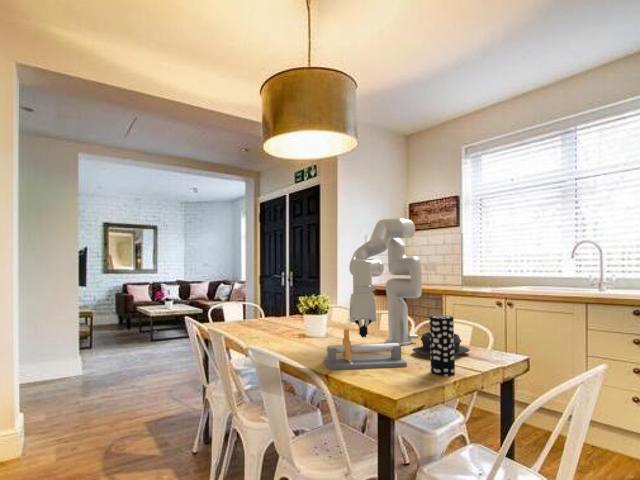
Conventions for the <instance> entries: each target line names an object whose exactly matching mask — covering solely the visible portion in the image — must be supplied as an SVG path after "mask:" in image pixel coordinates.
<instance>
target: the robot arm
mask: <svg viewBox="0 0 640 480" xmlns="http://www.w3.org/2000/svg"><path fill="white" fill-rule="evenodd" d="M415 233H416V226H415V223H414V222H413V221H412V220H411V219H406V218H400V217H397V218H383V219H381V220H380V219H379V220H378V221H377V223H375V227H374V228H373V231H372V234H371V236H370V238H369V240H368V241H366V242H364V243H363V244H362V245H361V246H359V247H357V249H356V250H355V251H354V253H353V255H352V256H351V259H350V262H349V272H350V274H351V275H352V293H350V299H349V322H351V323H354V324H356V325H357V326H358V329H359V330H358V332H359V333H358V334H359V336H360V337H361V338H367V335H368V327H369V325H371V323H375V322H377V307H376V299H375V293H374V291H376V286H373V284H372V283H373V279H372V278H378V277H380V276H382V274H383V272H384V270H385V266H384V263H383V262H382V260H380V259H378V258H371V257H374V256H375V257H376V256H378V255H379V254H383V253H384V252H385V251H386V250H387V261H388V262H387V265H388V272H389V274H390V275H392V276H409V277H410V278H405V277H395V278H390V279H388V280H387V281H386V283H385V293H386V299H387V312H388V313H387V316H388V317H387V318H388V321H387V322H388V329H387V330H388V338H386V339H385V343H399V345H400V346H406V345H411V344H412V340H413V339H414V340H419V335H418V334H410V333H409V324H408V323H409V315H408V314H409V313H408V311H409V310H408V309H409V308H408V304H407V303H406V301H405V300H404V299H418V298H420V297H421V296H422V292H423V281H422V280H423V278H422V277H423V276H422V275H423V274H422V273H423V272H422V263H421V259H420V258H419V257H418V256H416V255H406V245H405V243H404V242H403V240H402V239H410V238H412V237H414V235H415ZM363 320H364V322H363Z"/></svg>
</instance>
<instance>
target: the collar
mask: <svg viewBox="0 0 640 480" xmlns="http://www.w3.org/2000/svg"><path fill="white" fill-rule="evenodd" d="M342 345H345V353H342V356H343V357H344V358H345V360H351V356H352V353H351V345H352V343H351V339H350V329H349V328H344V329H343V337H342Z"/></svg>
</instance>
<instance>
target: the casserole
mask: <svg viewBox="0 0 640 480" xmlns="http://www.w3.org/2000/svg"><path fill="white" fill-rule="evenodd" d="M420 341H421V343H422V346H418V347H414V348H412V351H413V352H414V353H416V354H419V355H424V356H430V331H428V332H424V333H423V334H422V335H421V338H420ZM461 343H462V340H461V339H460V335H459V334H456V333H454V356H458V355H461V354H463V353H468V352H470V351H471V349H470V348H469V347H466V346H462V345H460V344H461Z"/></svg>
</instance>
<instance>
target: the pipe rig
mask: <svg viewBox="0 0 640 480" xmlns="http://www.w3.org/2000/svg"><path fill="white" fill-rule="evenodd" d="M376 352H390V354H388V353H384V354H383V353H382V354H364V355H361V354H360V355H359V354H358V355H351V360H345V358H344V357H343V355H337V354H343V353H345V345H343V344H331V345H329V344H328V346H327V347H326V356H324V362H325V364H326V366H327V369H328V371H333V370H335V371H337V369H339V370H357V369H358V370H359V369H363V370H364V369H382V368H406V367H407V365H408V364H407V361H405V360H404V359H403V358H402V345H399V343H386V342H385V343H362V344H360V343H358V344H351V354H352V353H376Z"/></svg>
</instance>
